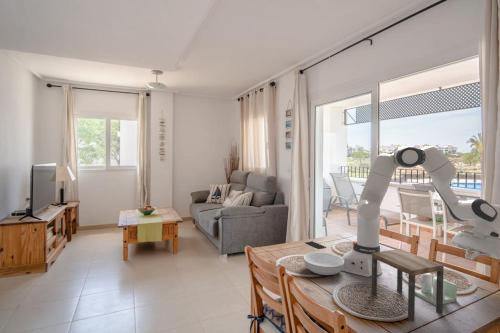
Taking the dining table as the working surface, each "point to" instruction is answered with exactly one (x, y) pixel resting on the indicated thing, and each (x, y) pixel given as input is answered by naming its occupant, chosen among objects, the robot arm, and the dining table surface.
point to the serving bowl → (323, 263)
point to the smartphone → (315, 245)
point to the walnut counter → (412, 267)
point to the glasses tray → (448, 293)
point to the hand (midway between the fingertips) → (468, 258)
